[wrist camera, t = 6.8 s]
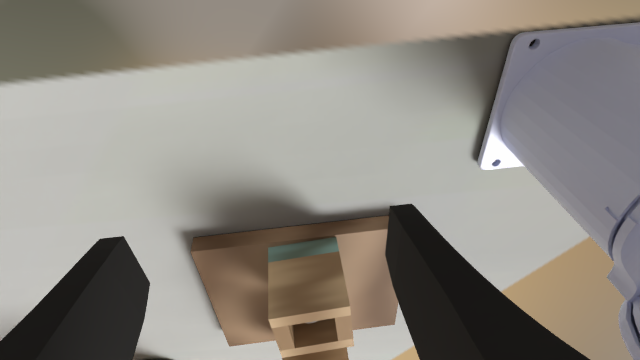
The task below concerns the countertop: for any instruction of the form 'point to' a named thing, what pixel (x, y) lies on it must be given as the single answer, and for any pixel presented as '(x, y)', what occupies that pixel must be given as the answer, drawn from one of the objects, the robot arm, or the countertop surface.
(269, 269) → the sleeve
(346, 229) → the pin board
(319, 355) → the seated sleeve
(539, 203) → the countertop surface
